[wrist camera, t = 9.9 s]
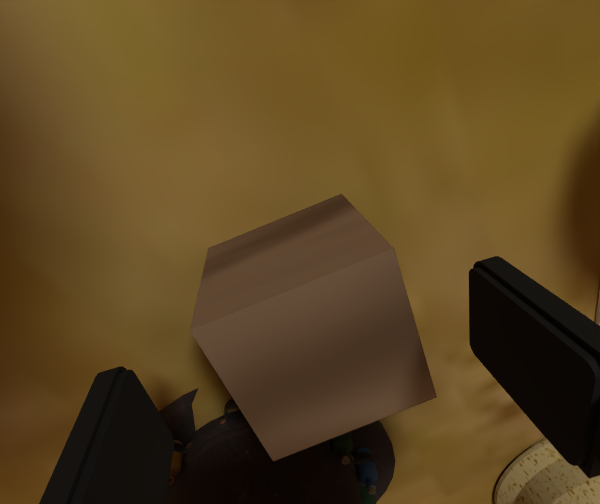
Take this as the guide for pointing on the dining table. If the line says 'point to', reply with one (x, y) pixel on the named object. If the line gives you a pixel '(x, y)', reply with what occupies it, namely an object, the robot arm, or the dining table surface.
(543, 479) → the lantern
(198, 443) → the top hat
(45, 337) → the dining table surface
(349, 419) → the walnut block
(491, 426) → the dining table surface
